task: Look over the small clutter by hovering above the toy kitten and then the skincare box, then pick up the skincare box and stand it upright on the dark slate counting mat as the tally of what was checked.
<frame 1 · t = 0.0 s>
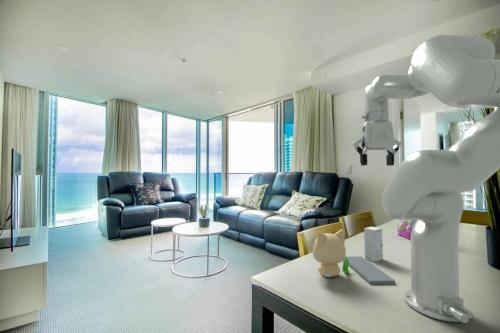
hand: (377, 165, 83), 37 cm above the table, tool pointing down, fingers open, 9 cm apart
counting mat: (364, 269, 80), on the table
candy bar box: (408, 238, 119), on the table
kitten: (330, 274, 76), on the table
skincare box: (373, 259, 90), on the table
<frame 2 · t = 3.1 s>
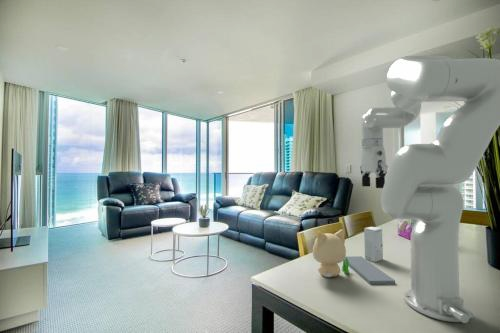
hand: (372, 187, 91), 28 cm above the table, tool pointing down, fingers open, 9 cm apart
nothing on the table moved.
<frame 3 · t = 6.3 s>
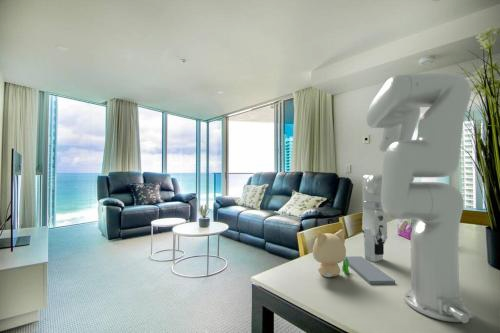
hand: (373, 250, 90), 3 cm above the table, tool pointing down, fingers closed on skincare box, 6 cm apart
skincare box: (373, 259, 90), on the table, touching gripper
everything else where it was.
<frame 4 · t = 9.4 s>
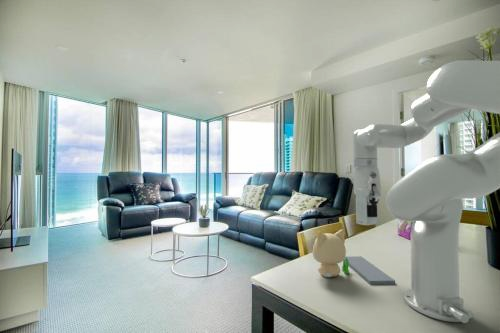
hand: (366, 214, 80), 19 cm above the table, tool pointing down, fingers closed on skincare box, 6 cm apart
skincare box: (366, 224, 80), point 16 cm above the table, touching gripper
everything else where it was.
when the fingers open (6 cm above the table, at t = 12.5 s): skincare box drops 1 cm, resting on counting mat.
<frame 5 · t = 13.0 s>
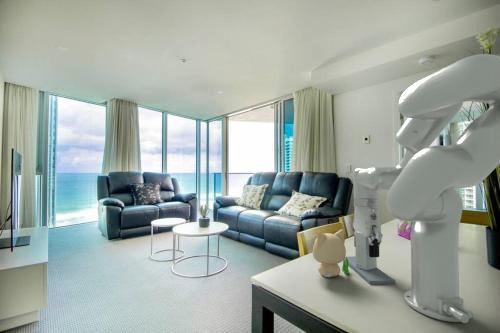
hand: (366, 251, 80), 6 cm above the table, tool pointing down, fingers open, 9 cm apart
skincare box: (366, 267, 80), point 1 cm above the table, touching counting mat
everything else where it was.
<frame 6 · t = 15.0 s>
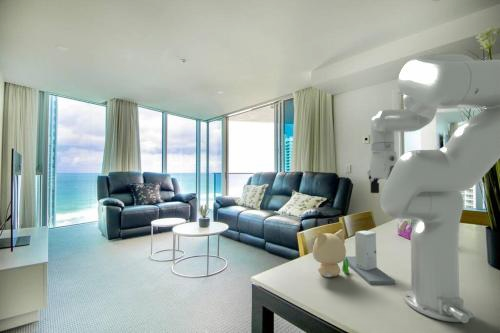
hand: (383, 194, 85), 26 cm above the table, tool pointing down, fingers open, 9 cm apart
nothing on the table moved.
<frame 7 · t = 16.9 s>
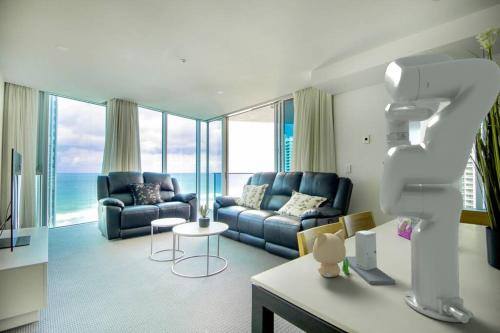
hand: (398, 182, 89), 30 cm above the table, tool pointing down, fingers open, 9 cm apart
nothing on the table moved.
at the end: skincare box inside the target area on the counting mat (0.5 cm from its centre), point 0.8 cm above the counting mat's base; skincare box tilted 0°; the gripper is holding nothing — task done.
